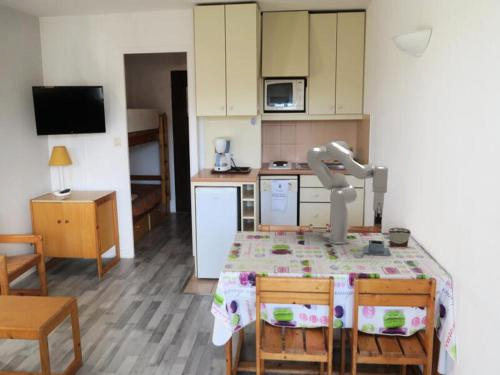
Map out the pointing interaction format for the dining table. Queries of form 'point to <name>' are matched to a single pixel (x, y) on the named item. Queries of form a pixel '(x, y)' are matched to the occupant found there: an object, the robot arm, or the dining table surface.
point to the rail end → (377, 226)
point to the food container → (399, 237)
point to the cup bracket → (376, 248)
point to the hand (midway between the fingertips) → (377, 222)
